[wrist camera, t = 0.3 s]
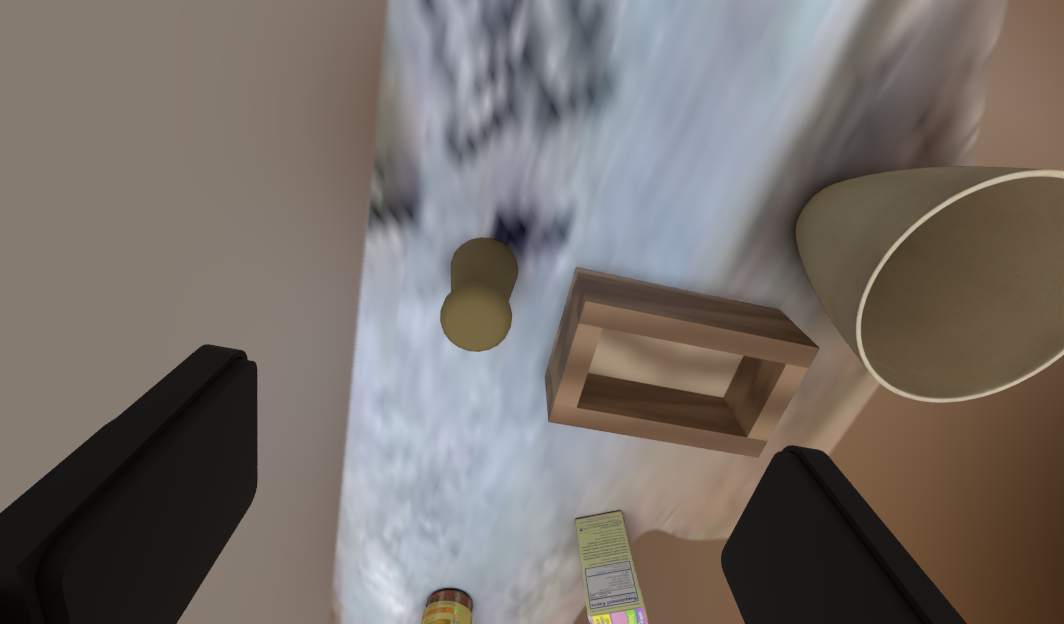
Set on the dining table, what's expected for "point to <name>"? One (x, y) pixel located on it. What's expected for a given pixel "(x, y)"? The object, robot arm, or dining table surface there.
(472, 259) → the olive brown gourd shape
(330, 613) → the dining table surface
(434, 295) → the dining table surface
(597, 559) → the box
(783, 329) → the walnut well caddy
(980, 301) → the plant pot
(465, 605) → the sauce bottle
